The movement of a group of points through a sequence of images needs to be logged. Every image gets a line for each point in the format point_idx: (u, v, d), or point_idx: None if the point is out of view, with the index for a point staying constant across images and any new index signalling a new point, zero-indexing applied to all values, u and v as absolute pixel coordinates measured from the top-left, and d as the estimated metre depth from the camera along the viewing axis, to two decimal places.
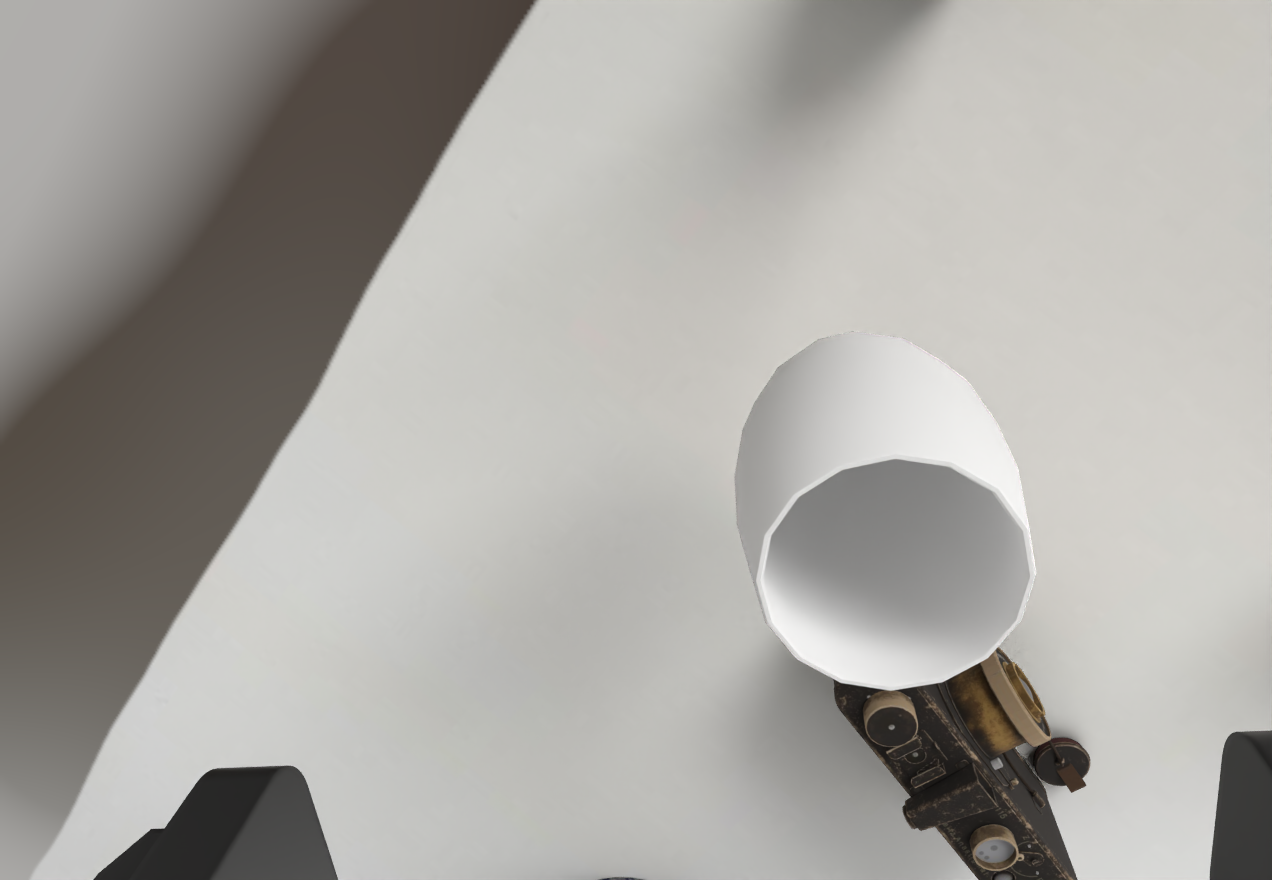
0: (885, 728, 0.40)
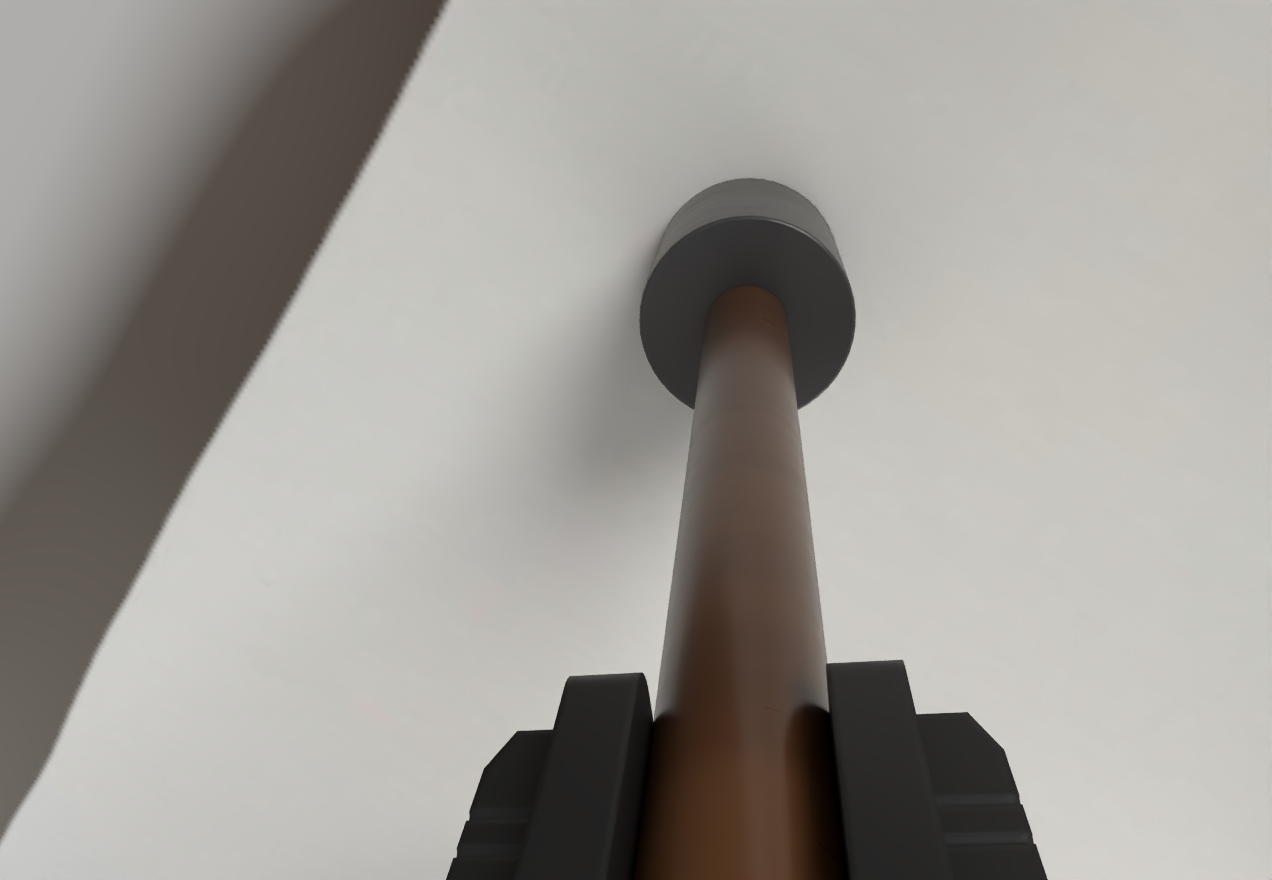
0: None
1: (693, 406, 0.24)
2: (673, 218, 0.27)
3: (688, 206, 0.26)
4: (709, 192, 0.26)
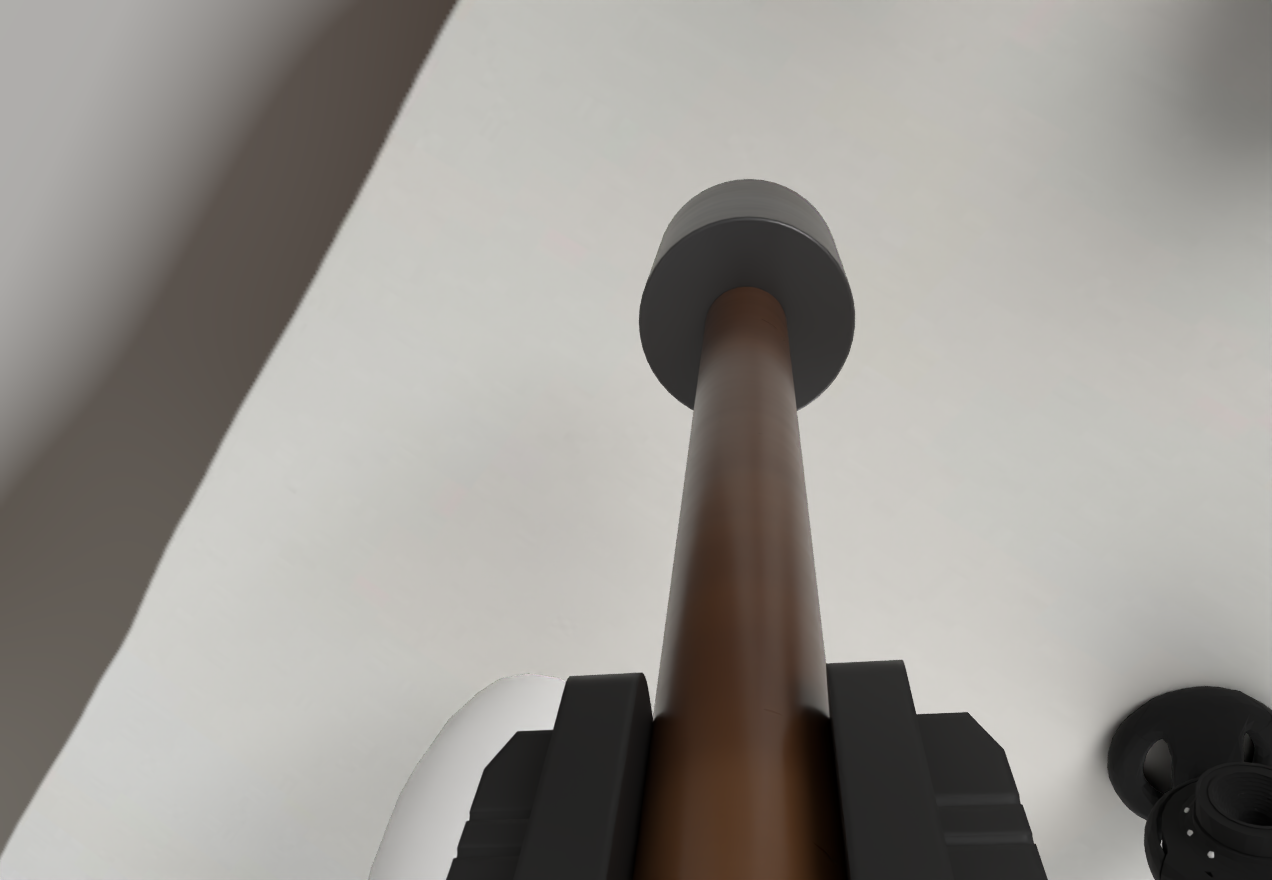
0: None
1: (693, 407, 0.24)
2: (673, 219, 0.27)
3: (687, 207, 0.26)
4: (708, 193, 0.26)
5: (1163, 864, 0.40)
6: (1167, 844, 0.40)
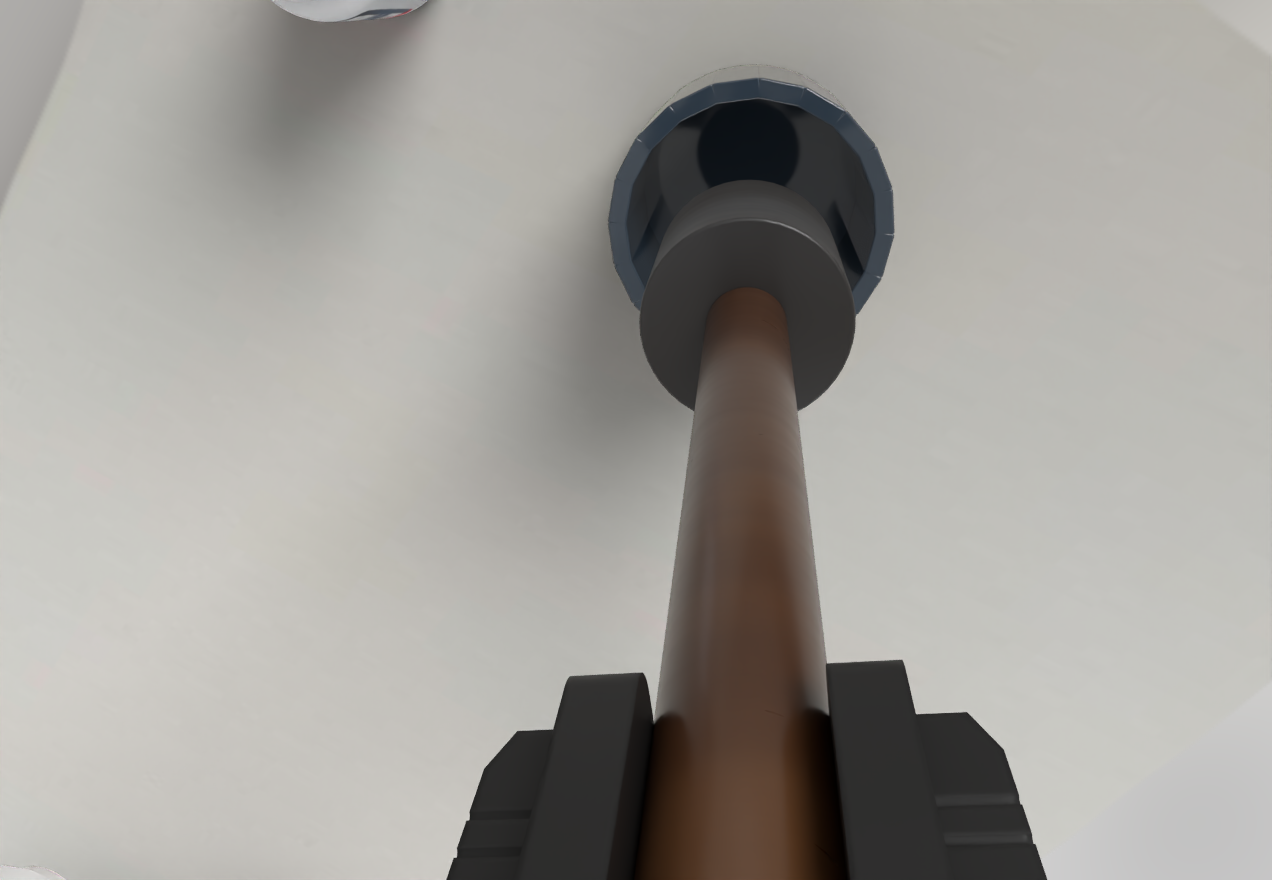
0: None
1: (693, 407, 0.24)
2: (673, 219, 0.27)
3: (688, 207, 0.26)
4: (709, 193, 0.26)
5: None
6: None
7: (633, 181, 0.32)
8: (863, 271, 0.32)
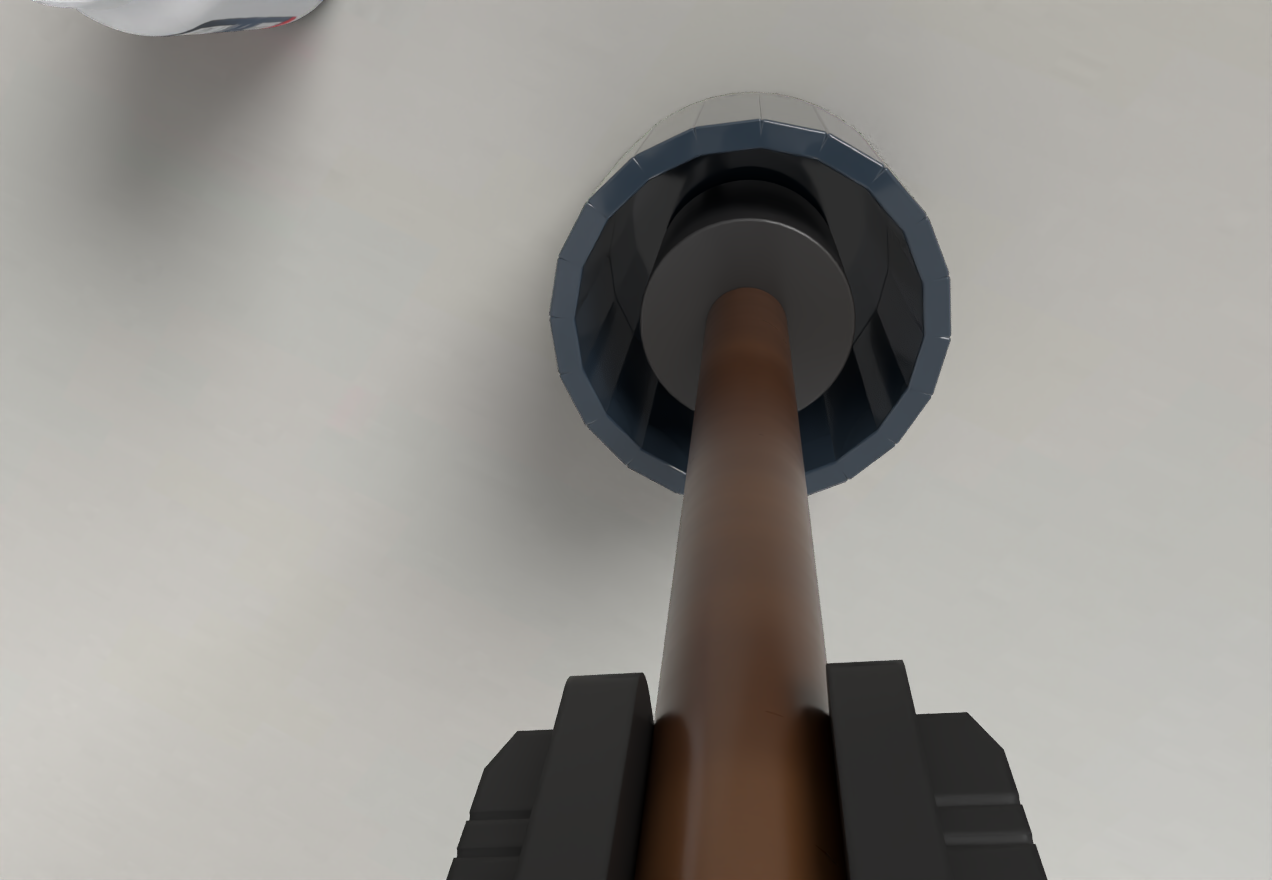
0: None
1: (693, 408, 0.24)
2: (673, 219, 0.27)
3: (688, 207, 0.26)
4: (709, 194, 0.26)
5: None
6: None
7: (583, 261, 0.23)
8: (906, 386, 0.23)
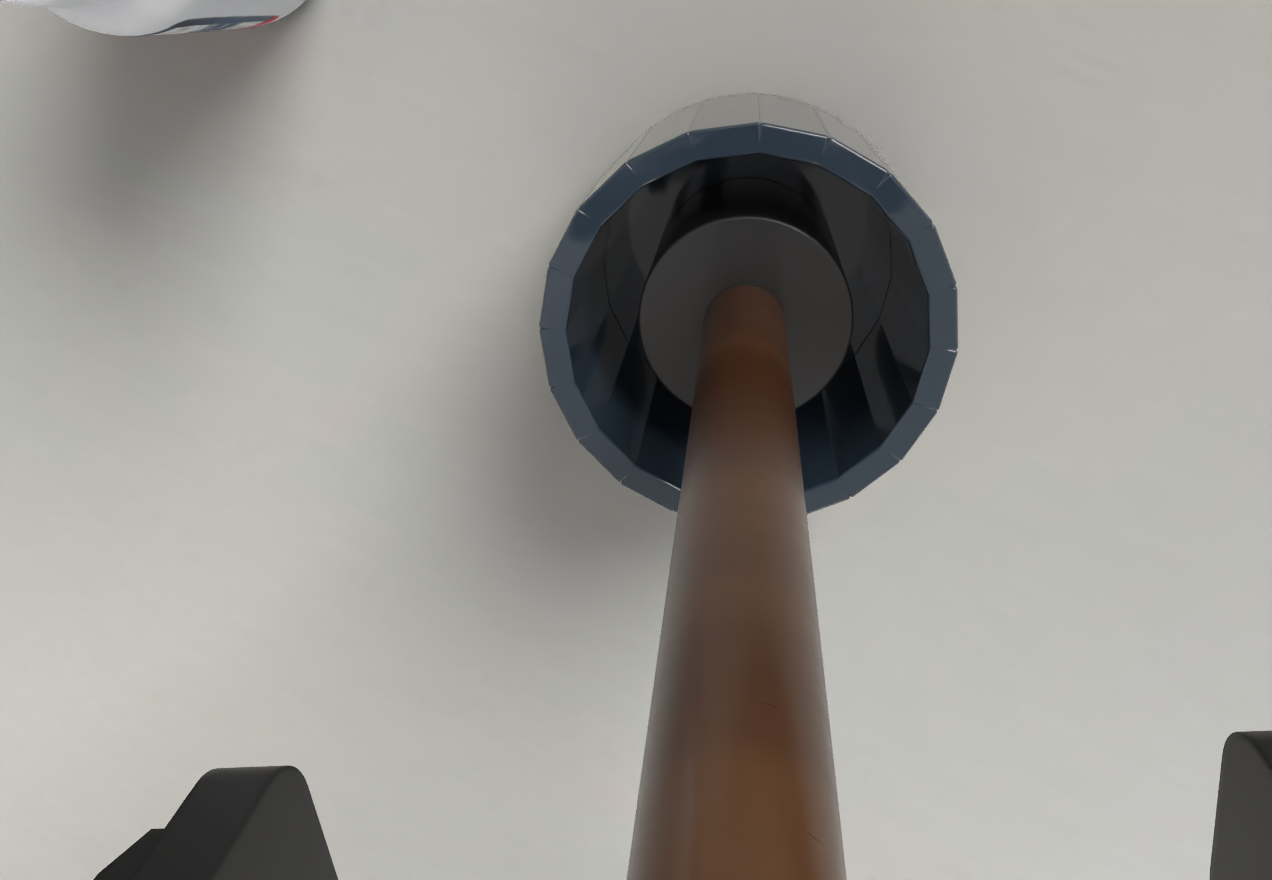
0: None
1: (692, 405, 0.24)
2: (672, 218, 0.27)
3: (687, 206, 0.26)
4: (708, 192, 0.26)
5: None
6: None
7: (575, 271, 0.22)
8: (911, 400, 0.22)
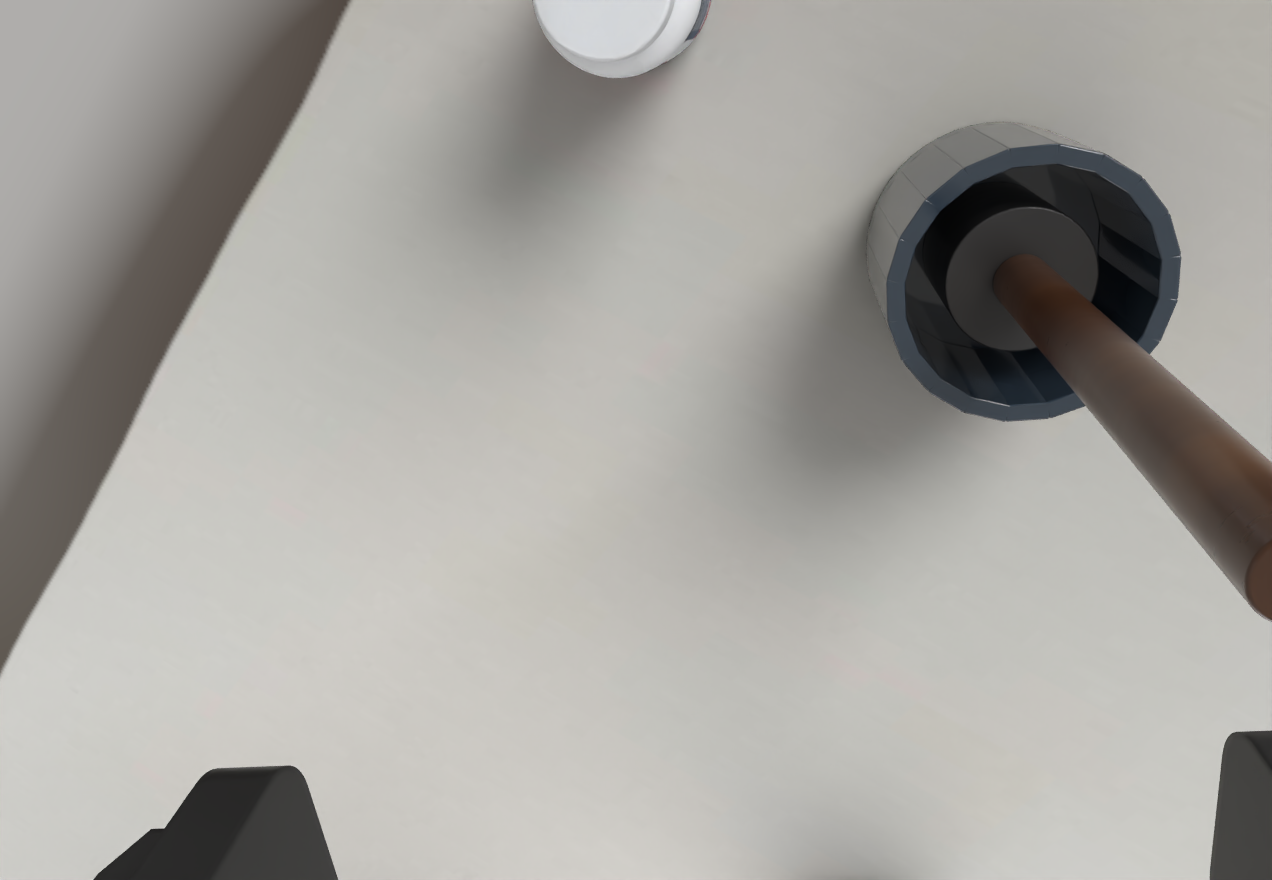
0: None
1: (976, 339, 0.34)
2: (941, 210, 0.37)
3: (958, 201, 0.36)
4: (974, 191, 0.36)
5: None
6: None
7: (917, 241, 0.32)
8: (1141, 334, 0.32)
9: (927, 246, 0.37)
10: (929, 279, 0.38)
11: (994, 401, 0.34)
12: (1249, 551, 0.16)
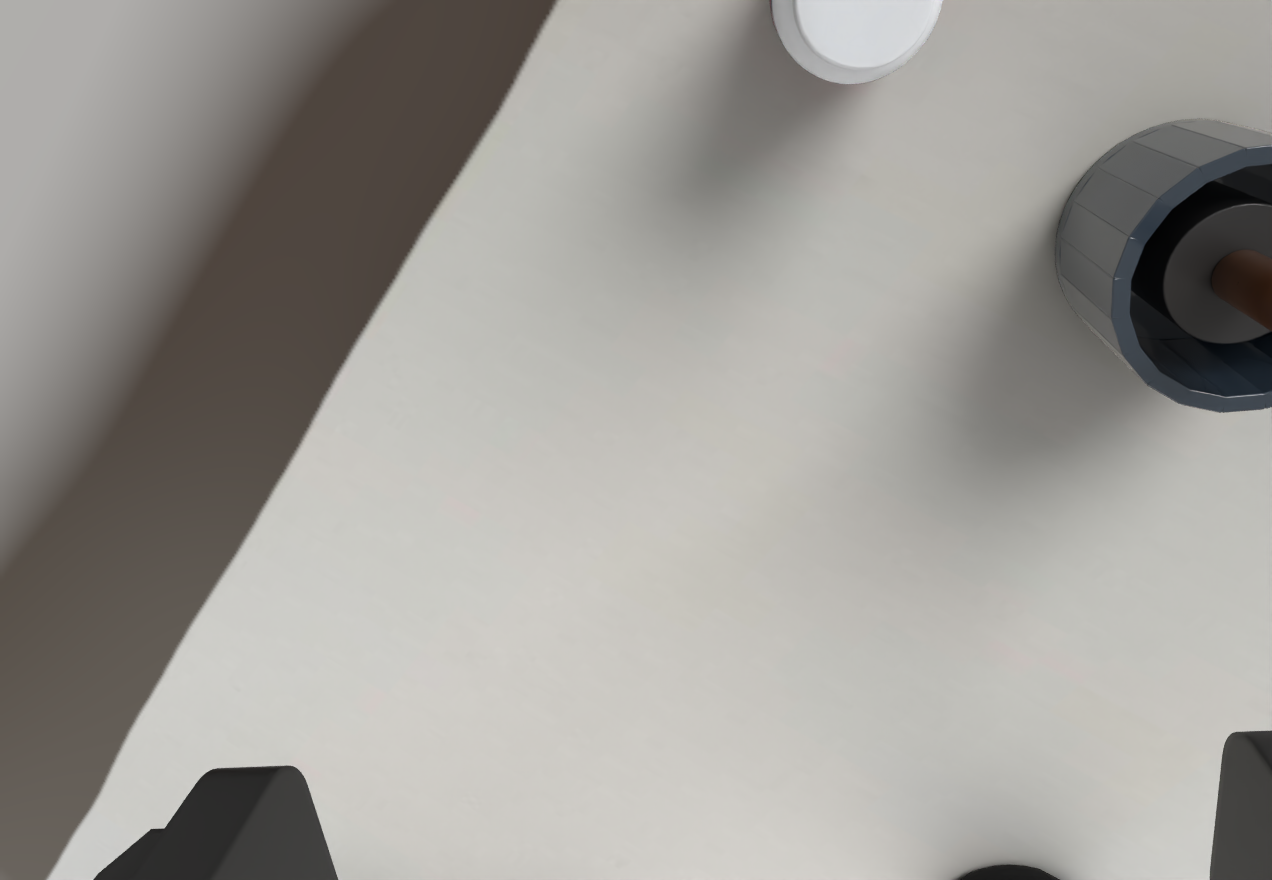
0: None
1: (1190, 332, 0.35)
2: None
3: None
4: None
5: None
6: None
7: (1147, 239, 0.33)
8: None
9: None
10: None
11: (1211, 393, 0.35)
12: None
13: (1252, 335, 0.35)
